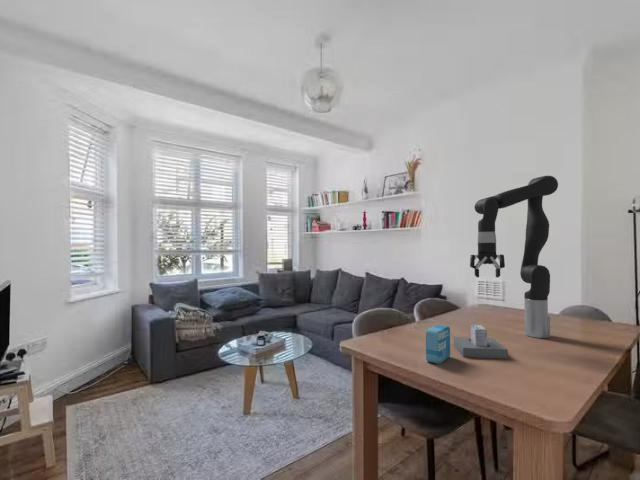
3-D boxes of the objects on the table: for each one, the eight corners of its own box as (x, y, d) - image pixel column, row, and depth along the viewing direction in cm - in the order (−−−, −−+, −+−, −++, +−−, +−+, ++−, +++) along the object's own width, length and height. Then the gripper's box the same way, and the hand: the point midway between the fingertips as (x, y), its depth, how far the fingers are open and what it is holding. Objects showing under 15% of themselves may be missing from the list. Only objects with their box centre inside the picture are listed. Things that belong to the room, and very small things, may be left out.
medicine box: (487, 351, 131) (487, 329, 131) (475, 351, 131) (475, 329, 131) (481, 345, 138) (481, 324, 138) (470, 345, 139) (470, 324, 139)
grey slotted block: (493, 346, 141) (493, 338, 141) (507, 358, 126) (507, 349, 126) (453, 345, 143) (453, 337, 143) (463, 356, 129) (463, 347, 129)
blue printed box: (437, 365, 120) (437, 331, 120) (425, 362, 123) (425, 329, 123) (450, 356, 129) (450, 325, 129) (439, 354, 132) (438, 323, 132)
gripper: (500, 241, 156) (500, 276, 156) (468, 242, 158) (468, 276, 158) (506, 241, 148) (507, 278, 148) (472, 242, 150) (473, 278, 150)
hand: (487, 277), depth 153 cm, fingers open, 8 cm apart
